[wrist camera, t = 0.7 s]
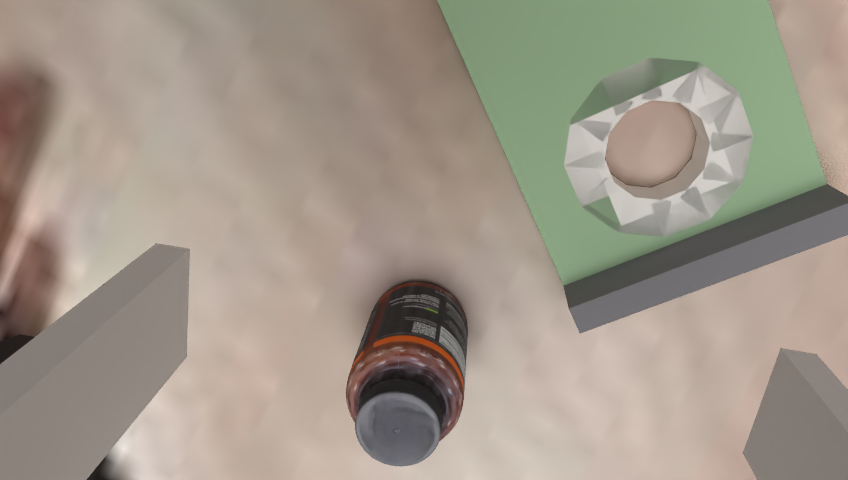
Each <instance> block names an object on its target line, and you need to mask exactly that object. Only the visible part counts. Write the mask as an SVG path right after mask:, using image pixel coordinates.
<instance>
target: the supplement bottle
mask: <svg viewBox="0 0 848 480" xmlns="http://www.w3.org/2000/svg"><path fill="white" fill-rule="evenodd" d="M467 337H468V327H467V320H466V316H465V313H464V311H463V309H462V307H461V305H460V304H459V303H458V301H457V300H456V299H455V298H454V297H453V296H452V295H451V294H450V293H449V292H447V291H445V290H444V289H442V288H440V287H438V286H436V285H432V284H429V283H423V282H411V283H405V284H402V285H399V286H396V287H395V288H393V289H391V290H389V291H388V292H387V293H385V294H384V295H383V296H382V297H381V298H380V299H379V300H378V302H377V304H376V305H375V307H374V309H373V311H372V313H371V316H370V318H369V321H368V324H367V326H366V329H365V332H364V335H363V338H362V340H361V343H360V346H359V348H358V351H357V354H356V357H355V359H354V362H353V365H352V368H351V371H350V374H349V377H348V381H347V387H346V400H347V405H348V409H349V412H350V414H351V417H352V418H353V420H354V422H355V430H356V435H357V438H358V441H359V443H360V445H361V446H362V447H363V449H364V450H365V451H366V452H367V453H368V454H369V455H370V456H371V457H372V458H374V459H376V460H378V461H380V462H382V463H384V464H388V465H393V466H409V465H413V464H416V463H419V462H421V461H423V460H424V459H426V458H427V457H428V456H429V455H430V454H432V452H433V451H434V450H435V449H436V447H437V445H438V443H439V441H440V440H442V439H443V438H444V437H445V436H446V435H447V434H449V432H450V431H451V430H452V429H453V427H454V426H455V424H456V423H457V421H458V419H459V417H460V414H461V410H462V406H463V400H464V388H465V387H464V386H465V369H466V353H467Z"/></svg>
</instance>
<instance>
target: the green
mask: <svg viewBox="0 0 848 480" xmlns="http://www.w3.org/2000/svg"><path fill="white" fill-rule="evenodd" d="M437 2H438V4H439V6H440V9H441V11H442V13H443V15H444V18H445V20H446V22H447V24H448V27H449V29H450V31H451V33H452V36H453V38H454V40H455V42H456V45H457V47H458V49H459V51H460V54H461V56H462V58H463V60H464V63H465V65H466V67H467V69H468V72H469V74H470V76H471V78H472V81H473V83H474V85H475V87H476V90H477V92H478V94H479V96H480V99H481V101H482V103H483V105H484V108H485V110H486V112H487V114H488V117H489V119H490V121H491V123H492V126H493V128H494V130H495V132H496V135H497V137H498V139H499V141H500V144H501V146H502V148H503V150H504V153H505V155H506V157H507V159H508V162H509V164H510V166H511V168H512V171H513V173H514V175H515V177H516V180H517V182H518V184H519V186H520V189H521V191H522V193H523V195H524V198H525V200H526V202H527V204H528V207H529V209H530V211H531V213H532V216H533V218H534V220H535V222H536V225H537V227H538V229H539V231H540V234H541V236H542V238H543V240H544V243H545V245H546V247H547V250H548V252H549V254H550V256H551V259H552V261H553V263H554V265H555V268H556V270H557V272H558V274H559V277H560V279H561V281H562V283H563V286H564V290H565V294H566V298H567V302H568V307H569V310H570V312H571V314H572V317H573V319H574V321H575V323H576V326H577V328H578V330H579V332H580V333H583V332H585V331H588V330H591V329H593V328H596V327H599V326H602V325H604V324H607V323H610V322H612V321H615V320H618V319H621V318H623V317H626V316H629V315H631V314H634V313H637V312H640V311H642V310H645V309H648V308H650V307H653V306H656V305H659V304H661V303H664V302H667V301H669V300H672V299H675V298H678V297H680V296H683V295H686V294H688V293H691V292H694V291H697V290H699V289H702V288H705V287H707V286H710V285H713V284H716V283H718V282H721V281H724V280H726V279H729V278H732V277H735V276H737V275H740V274H743V273H745V272H748V271H751V270H754V269H756V268H759V267H762V266H764V265H767V264H770V263H773V262H775V261H778V260H781V259H783V258H786V257H789V256H792V255H794V254H797V253H800V252H802V251H805V250H808V249H811V248H813V247H816V246H819V245H821V244H824V243H827V242H830V241H832V240H835V239H838V238H840V237H843V236H846V235H848V196H847V195H845V194H844V193H842V192H840V191H838V190H837V189H835V188H833V187H831V186H830V185H828V184H827V182H826V179H825V176H824V173H823V170H822V167H821V164H820V161H819V157H818V154H817V151H816V148H815V145H814V142H813V139H812V135H811V132H810V129H809V126H808V123H807V120H806V117H805V114H804V110H803V107H802V104H801V101H800V98H799V95H798V92H797V89H796V85H795V82H794V79H793V76H792V73H791V70H790V67H789V63H788V60H787V57H786V54H785V51H784V48H783V45H782V42H781V38H780V35H779V32H778V29H777V26H776V23H775V20H774V16H773V13H772V10H771V7H770V4H769V1H768V0H437ZM652 100H657V101H668V102H677V103H679V104H680V105H681V106H683V107H684V108H686V109H687V110H688V111H689V114H690V116H691V119H692V122H693V125H694V127H695V130H696V133H697V135H696V140H695V145H694V150H693V154H692V159H691V160H690V161H689V162H688V163H687V164H686V166H685V167H684V168H683V169H682V170H681V171H680V172H679V174H678V175H677V176H676V177H675V178H673V179H671V180H668V181H666V182H664V183H661V184H659V185H656V186H654V187H651V188H650V187H640V186H630V185H625V184H624V183H623V182H621V181H620V180H619V179H617V178H616V177H614V176H613V175H612V174H611V173H610V171H609V168H608V166H607V163H606V161H605V155H606V149H607V143H608V137H609V133H610V131H611V130H612V129H613V128H614V126H615V125H616V124H617V123H618V121H619V120H620V119H621V118H622V116H623V115H624V114H625V113H626V111H629V110H631V109H633V108H636V107H638V106H640V105H642V104H645V103H647V102H649V101H652Z"/></svg>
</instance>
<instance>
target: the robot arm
mask: <svg viewBox="0 0 848 480" xmlns="http://www.w3.org/2000/svg"><path fill="white" fill-rule="evenodd" d="M189 258H190V249H187V248H181V247H175V246H169V245H163V244H157V243H156V244H155V245H154V246H152V247H151V248H150V249H148V250H147V251H146V252H144V253H143V254H142V255H141V256H139V257H138V258H137V259H135V260H134V261H133V262H132V263H130V264H129V265H128V266H126V267H125V268H124V269H123V270H121V271H120V272H119V273H117V274H116V275H115V276H113V277H112V278H111V279H110V280H108V281H107V282H106V283H104V284H103V285H102V286H101V287H99V288H98V289H97V290H95V291H94V292H93V293H91V294H90V295H89V296H88V297H86V298H85V299H84V300H82V301H81V302H80V303H79V304H77V305H76V306H75V307H73V308H72V309H71V310H70V311H68V312H67V313H66V314H64V315H63V316H62V317H60V318H59V319H58V320H57V321H55V322H54V323H53V324H51V325H50V326H49V327H48V328H46V329H45V330H44V331H42V332H41V333H40V334H38V335H37V336H36V337H32V336H26V335H20V334H19V335H17V336H14V337H12V338H9V339H6V340H4V341H1V342H0V480H86V479H87V478H88V477H89V476H90V474H91V473H92V472H93V471H94V469H95V468H96V467H97V466H98V465H99V463H100V462H101V461H102V460H103V458H104V457H105V456H106V455H107V454H108V452H109V451H110V450H111V449H112V447H113V446H114V445H115V444H116V442H117V441H118V440H119V439H120V438H121V436H122V435H123V434H124V433H125V431H126V430H127V429H128V428H129V427H130V425H131V424H132V423H133V422H134V420H135V419H136V418H137V417H138V416H139V414H140V413H141V412H142V411H143V409H144V408H145V407H146V406H147V405H148V403H149V402H150V401H151V400H152V398H153V397H154V396H155V395H156V394H157V392H158V391H159V390H160V389H161V387H162V386H163V385H164V384H165V383H166V381H167V380H168V379H169V378H170V376H171V375H172V374H173V373H174V372H175V370H176V369H177V368H178V367H179V365H180V364H181V363H182V362H183V360H184V359H185V358H186V357H187V326H188V292H189ZM743 454H744V456H745V458H746V460H747V461H748V463H749V465H750V467H751V469H752V471H753V473H754V474H755V476H756V478H757V480H848V389H847V388H846V387H845V386H844V385H843V384H842V383H841V381H840V380H839V379H838V378H837V377H836V376H835V375H834V374H833V372H832V371H831V370H830V369H829V368H828V367H827V366H826V364H825V363H824V362H823V361H822V360H821V359H820V358H819V357H818V355H817V354H813V353H807V352H801V351H795V350H789V349H783V348H781V349H780V352H779V355H778V357H777V360H776V363H775V366H774V368H773V371H772V374H771V377H770V379H769V382H768V385H767V388H766V391H765V393H764V396H763V399H762V402H761V404H760V407H759V410H758V413H757V415H756V418H755V421H754V424H753V427H752V429H751V432H750V435H749V438H748V440H747V443H746V446H745V449H744V451H743Z"/></svg>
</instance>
